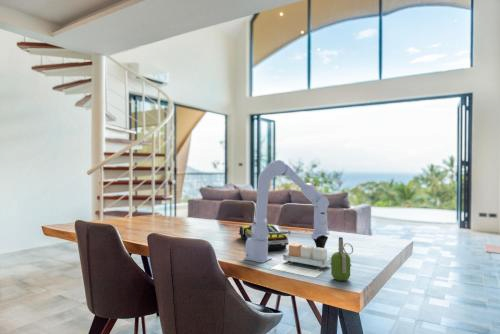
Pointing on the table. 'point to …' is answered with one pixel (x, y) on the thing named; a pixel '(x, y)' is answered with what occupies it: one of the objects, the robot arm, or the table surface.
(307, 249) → the part
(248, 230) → the racing car
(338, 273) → the grenade
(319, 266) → the beam with t-bracket
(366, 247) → the table surface
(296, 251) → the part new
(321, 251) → the part
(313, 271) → the track
